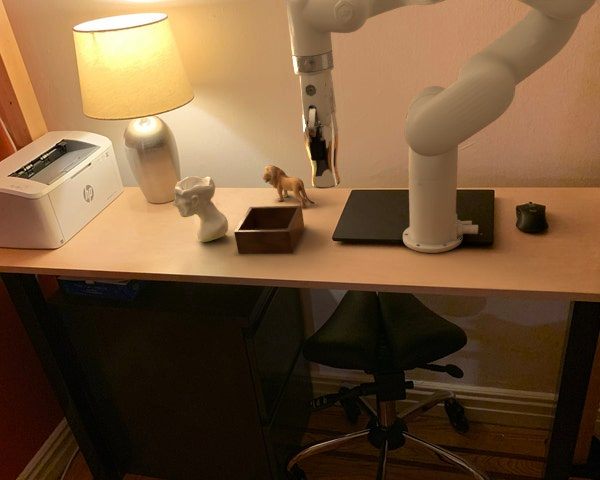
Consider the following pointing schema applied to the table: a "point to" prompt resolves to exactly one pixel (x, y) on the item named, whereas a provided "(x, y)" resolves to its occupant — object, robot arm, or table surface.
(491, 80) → the robot arm
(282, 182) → the lion figurine
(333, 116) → the beer glass
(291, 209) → the tub
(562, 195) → the table surface
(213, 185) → the white sculpted bust
